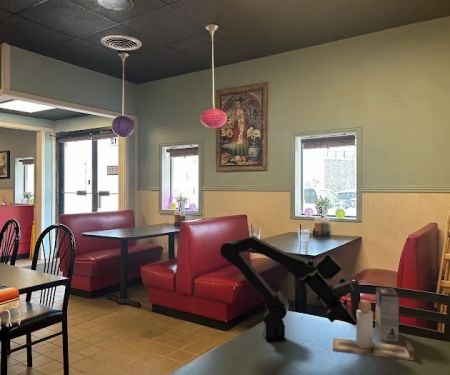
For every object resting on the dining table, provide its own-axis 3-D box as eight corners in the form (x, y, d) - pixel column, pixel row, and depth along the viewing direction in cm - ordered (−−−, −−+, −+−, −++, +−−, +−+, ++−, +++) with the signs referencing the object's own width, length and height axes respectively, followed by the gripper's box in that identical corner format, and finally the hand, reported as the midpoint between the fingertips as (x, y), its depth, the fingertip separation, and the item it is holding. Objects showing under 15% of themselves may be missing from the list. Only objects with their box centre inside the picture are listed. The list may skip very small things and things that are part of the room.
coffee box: (374, 330, 142) (375, 286, 141) (393, 331, 140) (393, 287, 140) (379, 340, 133) (379, 294, 132) (399, 342, 131) (399, 295, 131)
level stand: (332, 350, 125) (332, 342, 125) (333, 339, 133) (333, 331, 133) (414, 360, 118) (414, 351, 118) (409, 348, 126) (409, 340, 126)
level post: (356, 347, 125) (356, 301, 124) (356, 341, 129) (356, 297, 129) (373, 349, 123) (373, 303, 123) (372, 343, 128) (372, 298, 127)
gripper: (338, 279, 119) (376, 318, 116) (338, 266, 137) (372, 299, 134) (312, 302, 122) (349, 341, 119) (316, 286, 139) (348, 320, 136)
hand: (355, 324), depth 127 cm, fingers closed, pressing on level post
